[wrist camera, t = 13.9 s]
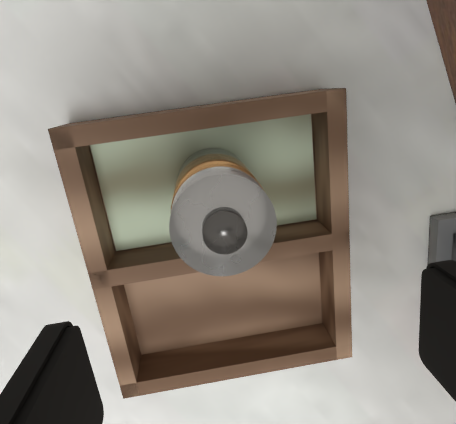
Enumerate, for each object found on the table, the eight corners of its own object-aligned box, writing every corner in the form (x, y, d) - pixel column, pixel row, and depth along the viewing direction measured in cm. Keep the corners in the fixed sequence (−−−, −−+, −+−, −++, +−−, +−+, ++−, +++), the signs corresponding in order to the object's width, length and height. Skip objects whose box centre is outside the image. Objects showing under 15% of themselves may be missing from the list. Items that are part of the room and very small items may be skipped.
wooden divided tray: (333, 326, 32) (352, 356, 28) (130, 362, 31) (123, 398, 27) (323, 88, 25) (346, 88, 22) (68, 123, 24) (47, 129, 21)
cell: (254, 211, 26) (288, 273, 17) (184, 225, 26) (180, 295, 17) (243, 140, 25) (273, 166, 16) (169, 154, 25) (154, 189, 15)
